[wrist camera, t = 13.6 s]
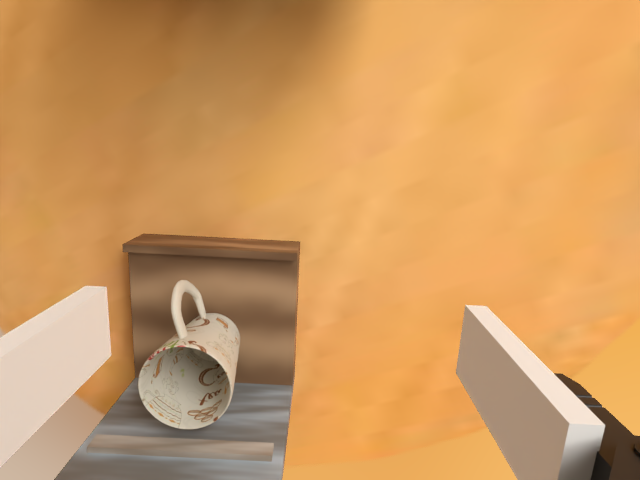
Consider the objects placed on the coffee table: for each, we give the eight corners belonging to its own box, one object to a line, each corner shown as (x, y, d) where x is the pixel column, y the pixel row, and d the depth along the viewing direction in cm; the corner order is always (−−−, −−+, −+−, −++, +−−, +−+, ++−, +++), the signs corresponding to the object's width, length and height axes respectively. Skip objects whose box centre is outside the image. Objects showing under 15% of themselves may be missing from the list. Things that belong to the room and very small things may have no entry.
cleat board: (143, 233, 48) (21, 295, 29) (300, 241, 48) (284, 309, 29) (149, 371, 52) (46, 507, 33) (294, 378, 52) (277, 518, 33)
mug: (189, 377, 48) (155, 438, 38) (154, 275, 45) (107, 312, 35) (259, 362, 47) (243, 419, 38) (228, 258, 45) (201, 290, 35)
